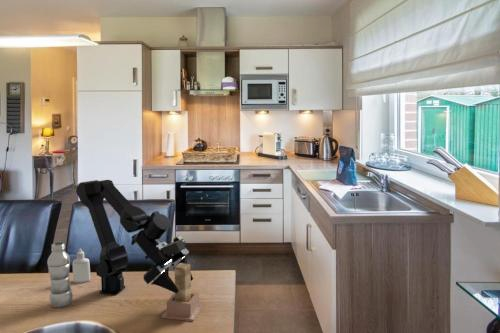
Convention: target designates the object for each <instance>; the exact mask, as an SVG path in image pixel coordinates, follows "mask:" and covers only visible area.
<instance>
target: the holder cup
mask: <svg viewBox="0 0 500 333" xmlns="http://www.w3.org/2000/svg"><path fill="white" fill-rule="evenodd" d="M204 306H205V303H201V302H200V293H199V292H192V291H191V300H190V301H189V302H182V301H175V293H174V292H173V294H172V295H171V296H170V297H169V298H168V299H167V300H166V310H165V311H164V312H163V313H162V314H161V316H160V318H162V319H171V320H179V321H187V322H188V321H189V322H194V321H195V320H196V318H197V316H198V315H199V314H200V312H201V311H202V309H203V308H204Z"/></svg>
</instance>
